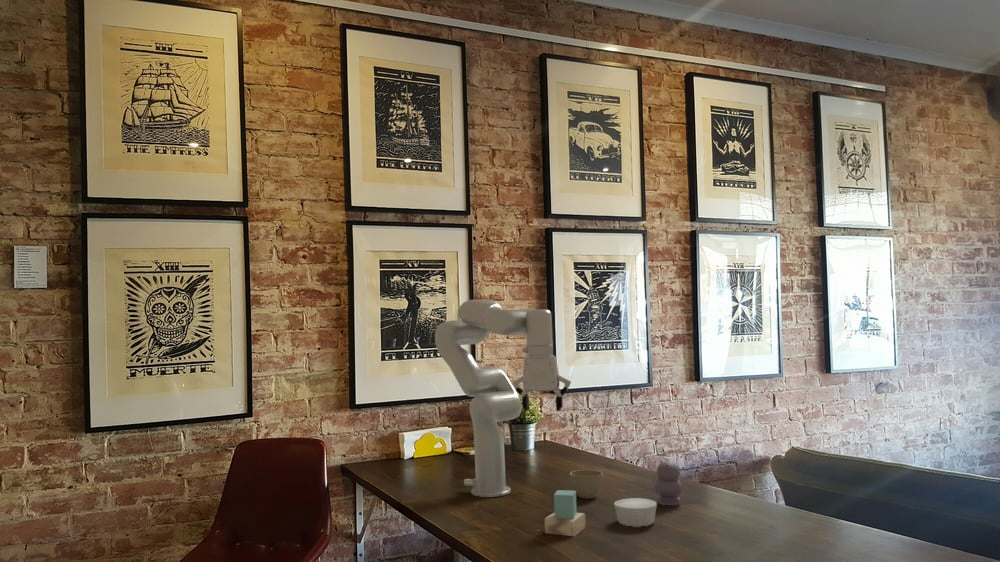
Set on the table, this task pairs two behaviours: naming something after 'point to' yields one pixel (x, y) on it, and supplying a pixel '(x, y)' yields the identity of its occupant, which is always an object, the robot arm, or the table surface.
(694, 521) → the table surface
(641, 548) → the table surface
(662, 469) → the cat figurine
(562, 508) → the block
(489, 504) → the table surface
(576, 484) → the flower pot
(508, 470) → the table surface
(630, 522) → the ramekin
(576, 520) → the base
